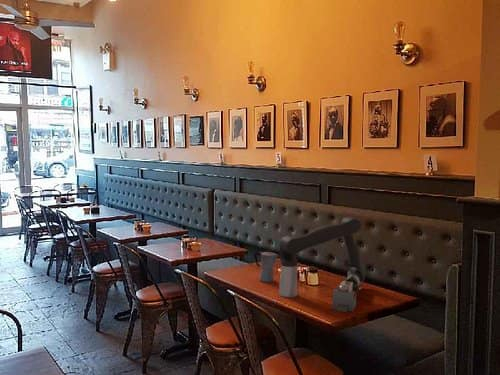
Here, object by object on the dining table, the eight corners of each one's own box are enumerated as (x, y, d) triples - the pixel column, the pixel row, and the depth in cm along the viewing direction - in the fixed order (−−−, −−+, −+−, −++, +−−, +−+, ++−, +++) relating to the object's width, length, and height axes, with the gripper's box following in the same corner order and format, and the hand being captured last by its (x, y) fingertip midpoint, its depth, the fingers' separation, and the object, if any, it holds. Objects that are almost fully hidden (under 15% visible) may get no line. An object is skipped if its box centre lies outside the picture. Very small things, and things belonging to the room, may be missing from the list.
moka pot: (277, 283, 290) (277, 251, 288) (252, 282, 292) (253, 250, 291) (278, 279, 299) (279, 248, 298) (254, 278, 302) (255, 247, 300)
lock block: (338, 307, 244) (339, 284, 243) (342, 302, 253) (343, 280, 253) (348, 309, 242) (348, 285, 241) (351, 303, 251) (352, 281, 251)
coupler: (331, 310, 240) (332, 286, 240) (336, 303, 252) (337, 280, 251) (352, 312, 237) (352, 288, 236) (355, 305, 248) (356, 282, 248)
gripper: (340, 275, 270) (335, 283, 254) (364, 277, 266) (360, 285, 249) (340, 288, 271) (335, 296, 255) (363, 290, 266) (359, 299, 250)
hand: (347, 291), depth 252 cm, fingers closed
